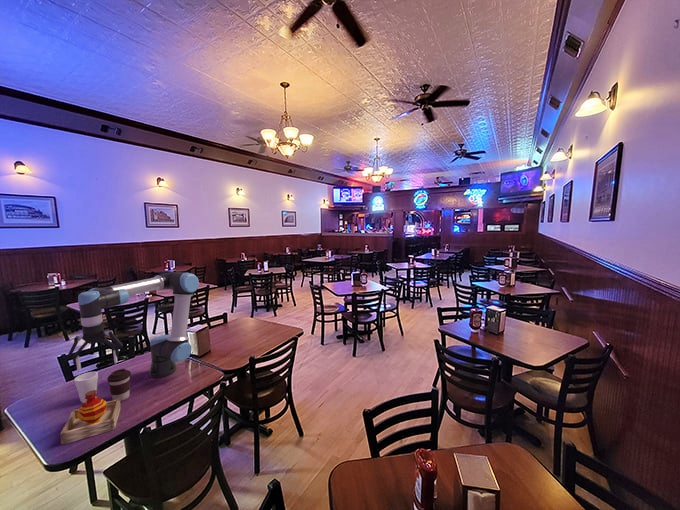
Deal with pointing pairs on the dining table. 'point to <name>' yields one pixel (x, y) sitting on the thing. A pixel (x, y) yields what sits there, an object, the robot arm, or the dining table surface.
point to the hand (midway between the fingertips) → (98, 366)
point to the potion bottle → (92, 408)
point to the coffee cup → (119, 384)
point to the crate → (79, 430)
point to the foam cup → (86, 384)
